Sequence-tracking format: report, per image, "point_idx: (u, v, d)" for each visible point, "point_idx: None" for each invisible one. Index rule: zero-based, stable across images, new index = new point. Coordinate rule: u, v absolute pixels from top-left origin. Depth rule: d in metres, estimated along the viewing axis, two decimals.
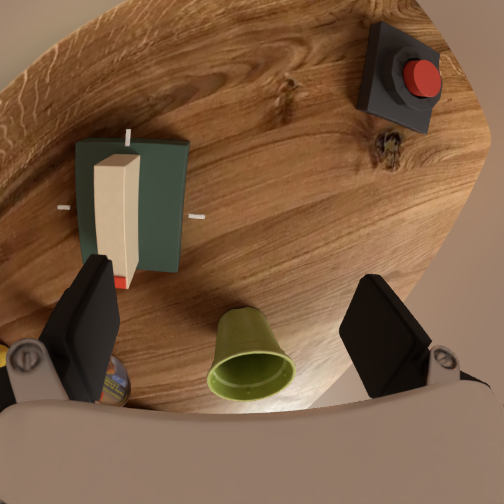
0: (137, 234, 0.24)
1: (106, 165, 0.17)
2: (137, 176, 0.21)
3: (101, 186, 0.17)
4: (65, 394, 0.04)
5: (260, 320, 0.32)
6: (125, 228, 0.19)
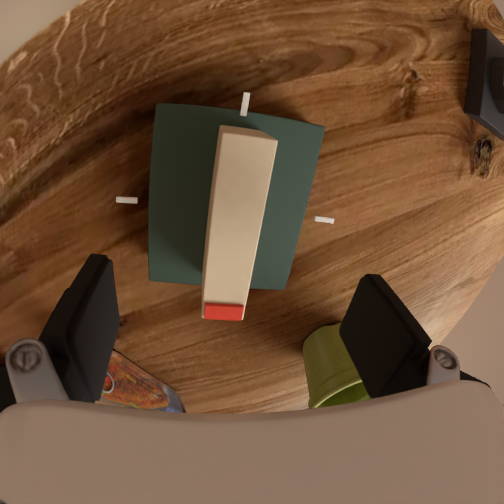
0: None
1: (244, 135, 0.11)
2: None
3: (231, 168, 0.12)
4: (65, 394, 0.04)
5: None
6: (258, 235, 0.14)
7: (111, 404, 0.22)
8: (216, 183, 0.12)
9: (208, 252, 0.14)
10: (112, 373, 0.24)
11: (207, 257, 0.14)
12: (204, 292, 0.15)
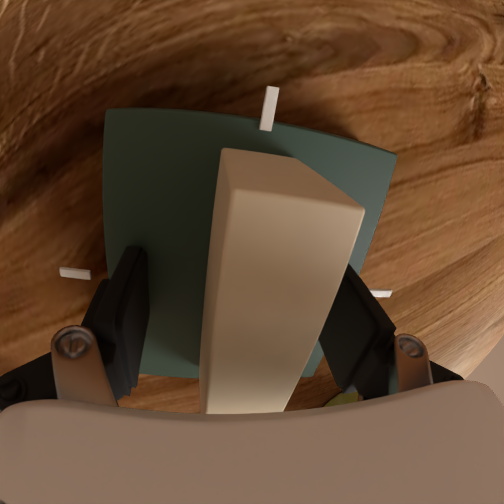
0: None
1: (289, 194, 0.05)
2: None
3: (254, 275, 0.05)
4: (108, 386, 0.05)
5: None
6: None
7: None
8: (219, 306, 0.05)
9: (208, 400, 0.07)
10: None
11: (207, 404, 0.07)
12: None
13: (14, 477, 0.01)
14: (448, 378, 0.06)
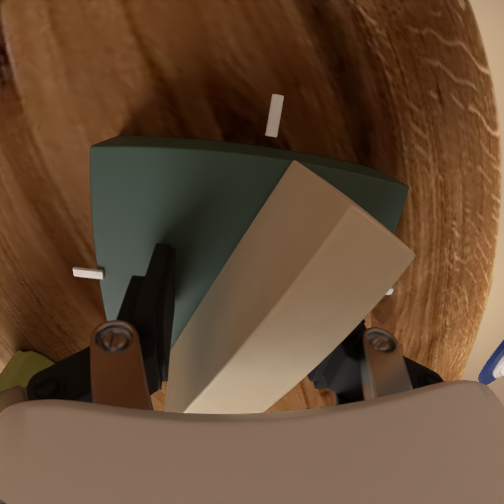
0: None
1: (380, 225, 0.06)
2: None
3: (329, 277, 0.06)
4: (146, 383, 0.05)
5: None
6: None
7: None
8: (288, 294, 0.06)
9: (213, 382, 0.07)
10: None
11: (208, 386, 0.07)
12: None
13: (14, 477, 0.01)
14: (423, 375, 0.07)
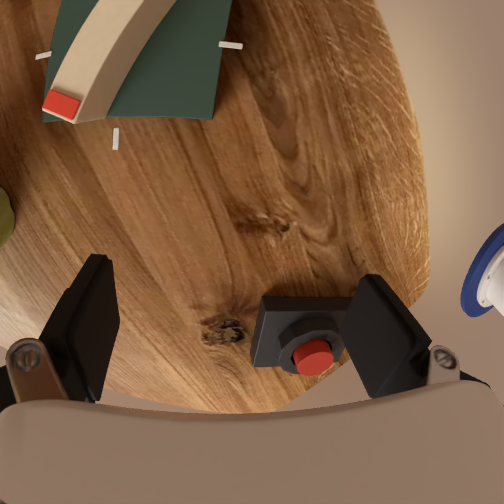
0: (124, 76, 0.13)
1: None
2: (170, 3, 0.11)
3: None
4: (65, 394, 0.04)
5: (3, 238, 0.17)
6: (126, 28, 0.09)
7: None
8: None
9: (78, 33, 0.08)
10: None
11: (75, 38, 0.08)
12: (56, 76, 0.09)
13: (14, 477, 0.01)
14: None
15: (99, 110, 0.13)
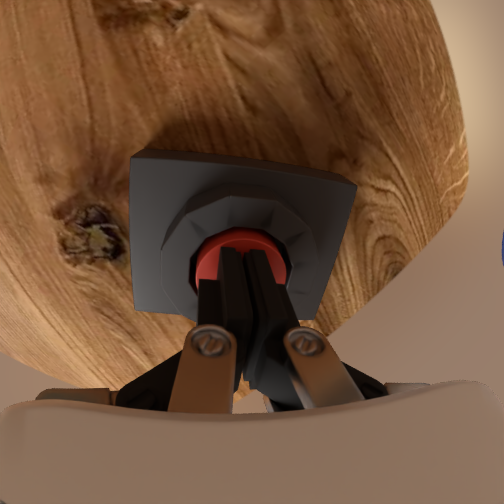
0: None
1: None
2: None
3: None
4: (231, 394, 0.05)
5: None
6: None
7: None
8: None
9: None
10: None
11: None
12: None
13: (14, 477, 0.01)
14: (360, 385, 0.06)
15: None
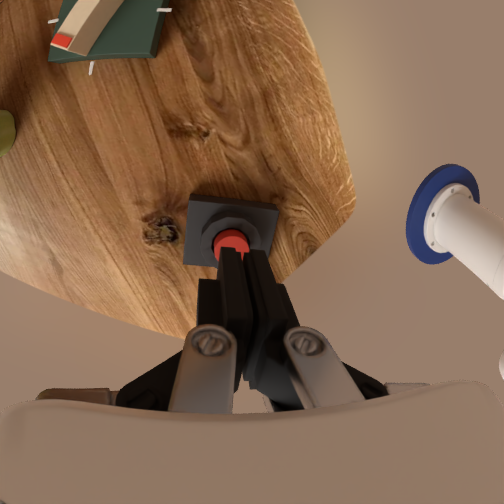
0: (100, 31, 0.18)
1: None
2: None
3: None
4: (231, 394, 0.05)
5: (5, 144, 0.21)
6: (100, 1, 0.14)
7: None
8: None
9: (75, 4, 0.13)
10: None
11: (73, 7, 0.13)
12: None
13: (14, 477, 0.01)
14: (360, 385, 0.06)
15: (82, 48, 0.17)
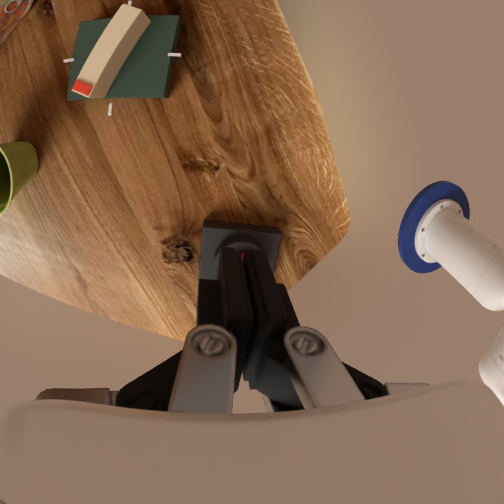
0: (116, 74, 0.23)
1: (130, 6, 0.17)
2: (141, 32, 0.21)
3: (118, 16, 0.17)
4: (231, 394, 0.05)
5: (30, 175, 0.27)
6: (116, 49, 0.19)
7: None
8: (110, 21, 0.17)
9: None
10: (14, 11, 0.14)
11: (90, 54, 0.18)
12: None
13: (14, 477, 0.01)
14: (360, 385, 0.06)
15: (101, 92, 0.23)
